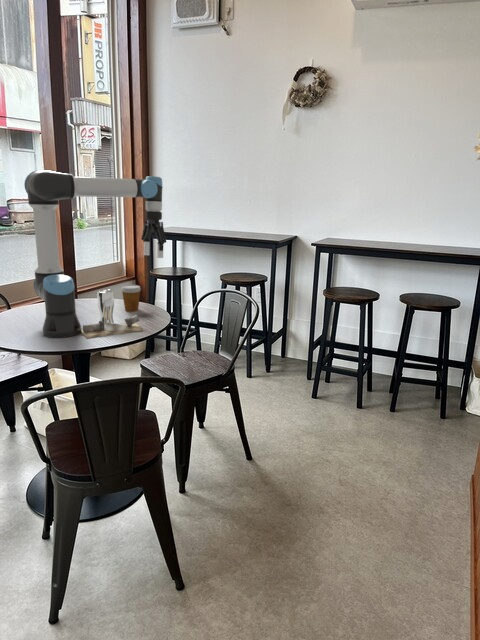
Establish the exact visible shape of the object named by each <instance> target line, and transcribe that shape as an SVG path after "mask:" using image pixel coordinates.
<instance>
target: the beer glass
mask: <svg viewBox="0 0 480 640" xmlns="http://www.w3.org/2000/svg"><path fill="white" fill-rule="evenodd" d="M96 297H97V306H98V313H99V316H100V317H99V318H100V319H99V321H103V322H104V326H105V325H108V324H115V321H114V316H113V314H114V307H115V297H114V290H111V289H100V290H97V296H96Z"/></svg>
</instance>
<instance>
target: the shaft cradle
mask: <svg viewBox="0 0 480 640" xmlns="http://www.w3.org/2000/svg"><path fill="white" fill-rule="evenodd" d="M124 322H125V323H114V324H108V325H105V326H104V322H103V321H100V320H99V321H98V322H97V323H91V324H83V325H82V328H81V333H80V334H81V335H82V336H83V337H85V339H88V338H96V337H105V336H111V335H117V334H125V333H132V332H139V331H141V332H142V331H143V329H144V328H143V327H142V326H140V325H139V324H137V323H138V322H140V317H139V316H138V315H137V314H134V315H133V316H131V317H127V318H126V317H125V319H124Z"/></svg>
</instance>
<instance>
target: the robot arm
mask: <svg viewBox="0 0 480 640" xmlns="http://www.w3.org/2000/svg"><path fill="white" fill-rule="evenodd" d="M23 184H24V185H23V186H24V190H25V192H26V194H27V201H28V202H27V203H28V206H29V207H31V208H32V213H33V222H34V223H33V224H34V234H35V235H34V237H35V246H36V256H37V258H36V259H37V268H35V270H34V280H33V290H34V293H35V294H36V295H37V296H38V297H39V298H40V299H42V300H43V301H44V306H45V307H44V308H45V309H44V310H45V319H44V321H43V326H42V335H43V336H45V337H48V338H61V339H62V338H67V337H68V338H69V337H73V336H77V335H79V334H81V329H82V325H81V323H80V320H79V317H78V315H77V310H76V309H77V308H76V296H75V294H76V293H75V288H76V287H75V283H74V279H73V278H72V277H71V276H69V275H66V274H65V270H64V268H62V267H61V265H60V253H59V241H58V240H59V239H58V238H59V237H58V226H57V213H56V209H57V208H58V207H59V206H60V203H59V201H61V200H73V199H75V198H76V197H90V198H91V197H94V198H142V199H143V198H145V221H144V224H143V225H144V226H143V230H142V231H143V232H142V233H141V234H142V235H141V238H140V239H141V241H142V242H143V256H150V253H151V252H150V250H151V249H150V242H151V241H150V239H151V236H152V234H153V233H154V235H155V238H156V240H157V245H156V246H157V249H156V250H157V251H156V255H157V256H156V258H157V259H164V244H165V243H167V237H166V233H165V230H164V229H165V228H164V222H163V221H161V220H162V218H163V213H162V209H163V187H164V186H163V178H162V177H160V176H154V175H153V176H151V175H149V176H148V175H147V176H146V177H145V179H143V178H142V179H141V178H140V179H139V178H138V179H137V178H118V177H117V178H116V177H115V178H113V177H94V176H93V177H92V176H91V177H90V176H88V177H87V176H74V175H73V174H72V173H62V172H58V171H57V172H56V171H52V170H42V169H40V170H39V169H37V170H34V171H32V172H30V173H28V175H27V176H26V178H25V180H24V183H23Z"/></svg>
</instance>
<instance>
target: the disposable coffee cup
mask: <svg viewBox="0 0 480 640" xmlns="http://www.w3.org/2000/svg"><path fill="white" fill-rule="evenodd" d="M120 289H121V292H122V293H121V294H122V299H123V306H124V310H125V312H128V313H135V312H138V311H139V306H140V305H139V304H140V295H141V290H142V288H141V286H140V285H137V284H127V285H122V286H121V288H120Z"/></svg>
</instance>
